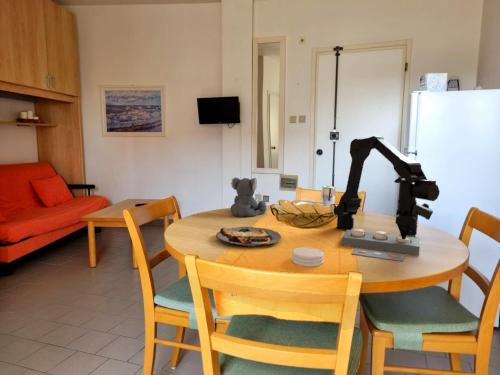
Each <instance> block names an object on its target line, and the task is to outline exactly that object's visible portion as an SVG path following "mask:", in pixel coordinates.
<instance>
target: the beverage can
mask: <svg viewBox="0 0 500 375" xmlns="http://www.w3.org/2000/svg"><path fill="white" fill-rule="evenodd" d="M414 217H415V218H416V224H415V226H412V225H411V226H410V227H409V230H408V233H407V237H416V235H418V234H417V232H418V222H419V215H417V214H416V216H414Z"/></svg>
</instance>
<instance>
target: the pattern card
mask: <svg viewBox="0 0 500 375" xmlns="http://www.w3.org/2000/svg"><path fill="white" fill-rule="evenodd" d="M353 254H355V256H359V257H360V256H362V257H367V258H368V257H369V258H377V259H380V260H381V259H382V260H388V261H389V260H390V261H398V262H403V261H404V253H398V252H390V251H383V250H376V249H368V248H361V247H353V251H352V252H351V255H353Z"/></svg>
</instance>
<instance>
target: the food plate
mask: <svg viewBox="0 0 500 375" xmlns="http://www.w3.org/2000/svg"><path fill="white" fill-rule="evenodd" d="M215 237H216V238H217V240H220V241H222V242H223V243H228V245H229V244H231V245H233V244H235V245H237V246H239V245H241V246H244V247H251V248H253V247H256V246H262V245H264V246H265V245H270V244H276V243H278V241H279V240H280V239H281V238H282V235H281V234H280V233H279V232H278V231H275V230H273V229H269V228H264V227H255V226H239V227H238V226H237V227H231V228H226V227H222V228H220V230H219V231H218V232H217V233H216V235H215Z"/></svg>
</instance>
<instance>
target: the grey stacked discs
mask: <svg viewBox="0 0 500 375" xmlns="http://www.w3.org/2000/svg"><path fill="white" fill-rule="evenodd" d="M291 262H292V263H294V264H295V265H297V266H300V267H307V268H313V267H320V266H322V265H323V264H324V252H323V250H320V249H318V248H316V247H309V246H304V247H303V246H302V247H301V246H300V247H296V248H294V249H292V250H291Z"/></svg>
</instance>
